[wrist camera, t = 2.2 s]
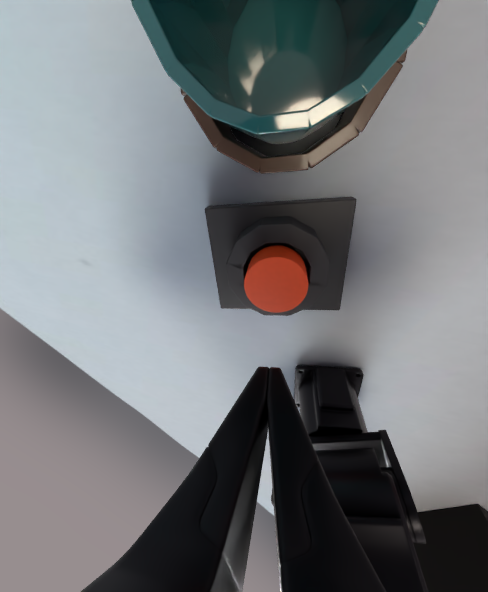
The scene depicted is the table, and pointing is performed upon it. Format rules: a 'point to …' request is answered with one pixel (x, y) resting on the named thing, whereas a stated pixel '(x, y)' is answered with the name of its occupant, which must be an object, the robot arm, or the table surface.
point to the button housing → (286, 232)
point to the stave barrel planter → (340, 136)
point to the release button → (276, 279)
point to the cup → (279, 56)
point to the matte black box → (455, 549)
